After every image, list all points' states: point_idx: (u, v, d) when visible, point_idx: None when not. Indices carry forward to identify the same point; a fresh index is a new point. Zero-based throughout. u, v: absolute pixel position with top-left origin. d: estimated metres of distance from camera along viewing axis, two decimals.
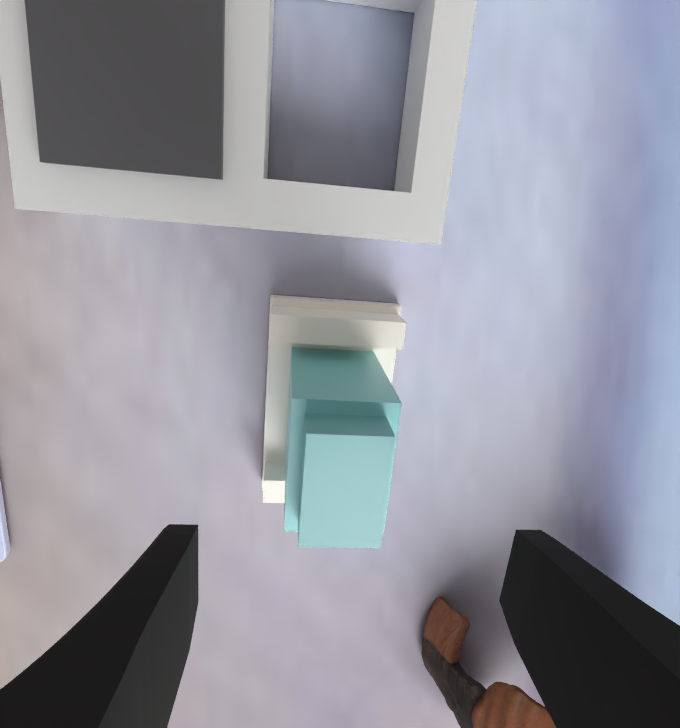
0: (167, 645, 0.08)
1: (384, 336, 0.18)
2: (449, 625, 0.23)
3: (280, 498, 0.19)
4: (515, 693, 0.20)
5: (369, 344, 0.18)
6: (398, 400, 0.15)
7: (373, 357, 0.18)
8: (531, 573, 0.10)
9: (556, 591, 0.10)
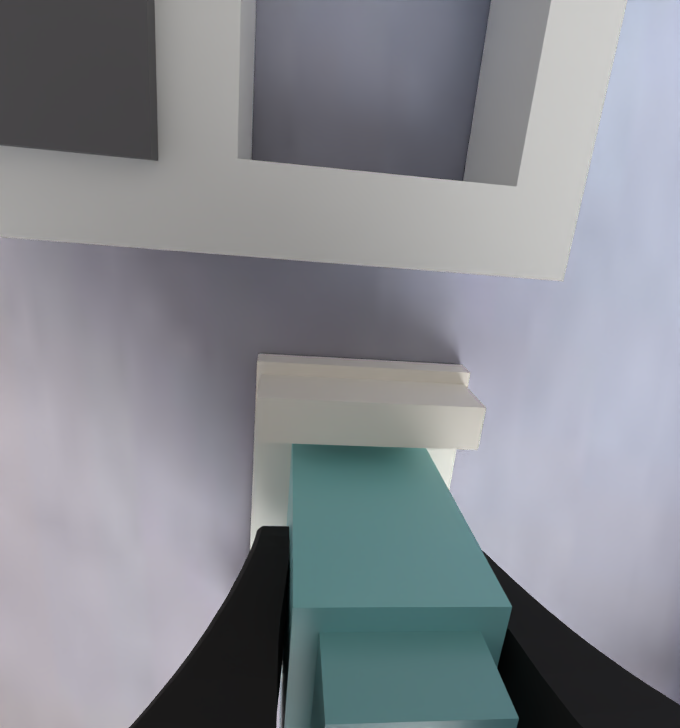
0: (280, 645, 0.09)
1: (448, 429, 0.10)
2: None
3: None
4: None
5: (423, 443, 0.11)
6: (502, 595, 0.07)
7: (425, 457, 0.11)
8: None
9: None
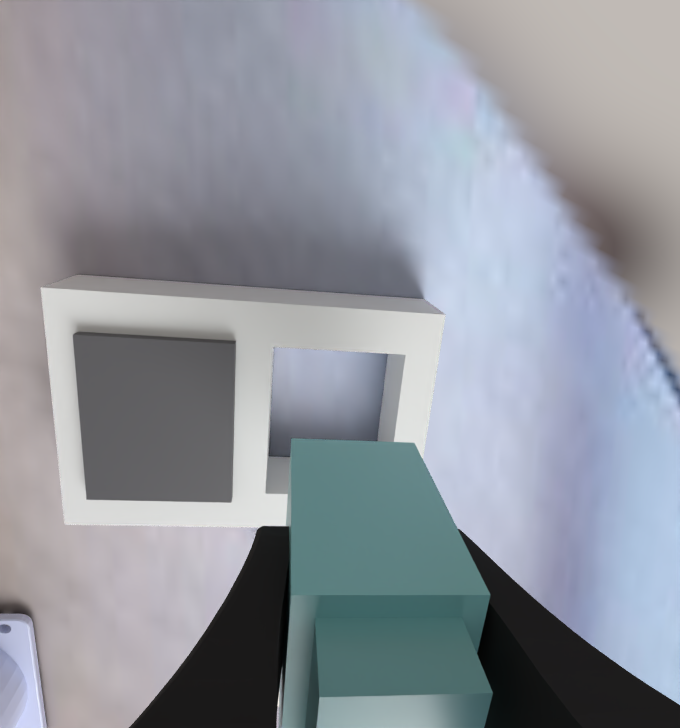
0: (281, 644, 0.09)
1: None
2: None
3: None
4: None
5: None
6: (482, 585, 0.08)
7: (416, 458, 0.12)
8: None
9: None
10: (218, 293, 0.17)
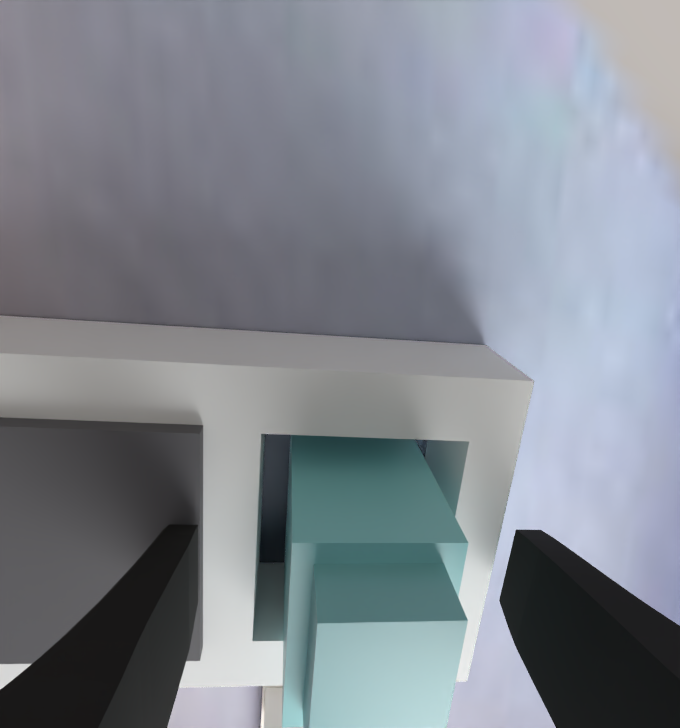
0: (166, 646, 0.08)
1: None
2: None
3: None
4: None
5: None
6: (461, 535, 0.09)
7: None
8: (531, 573, 0.10)
9: (556, 591, 0.10)
10: (176, 347, 0.11)
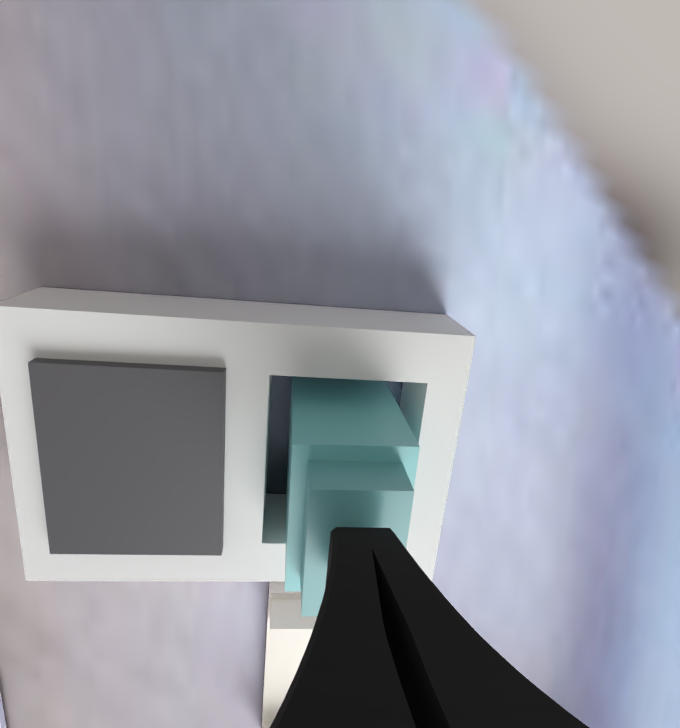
0: None
1: None
2: None
3: None
4: None
5: None
6: (415, 443, 0.13)
7: (383, 384, 0.16)
8: None
9: (378, 591, 0.09)
10: (205, 310, 0.14)
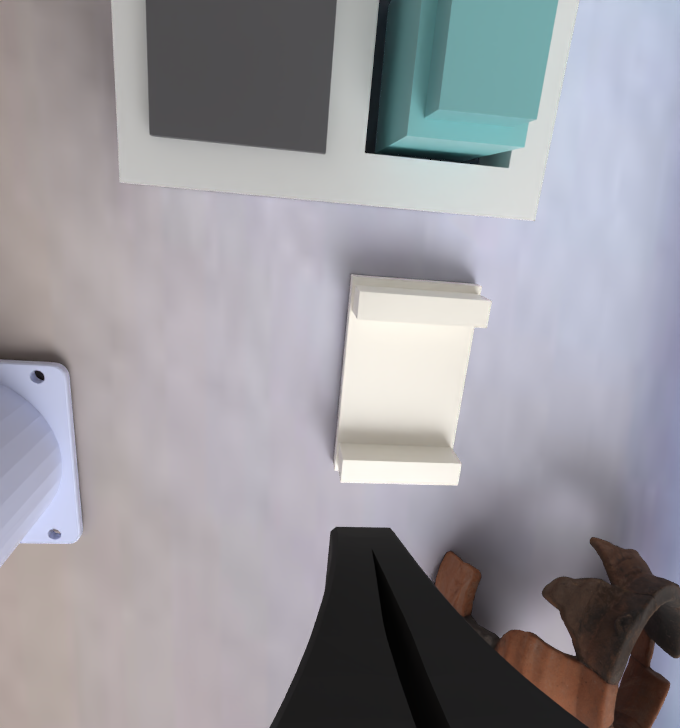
0: None
1: (469, 314, 0.18)
2: (460, 577, 0.22)
3: (358, 478, 0.19)
4: (531, 639, 0.19)
5: (454, 322, 0.18)
6: None
7: None
8: None
9: (378, 591, 0.09)
10: None
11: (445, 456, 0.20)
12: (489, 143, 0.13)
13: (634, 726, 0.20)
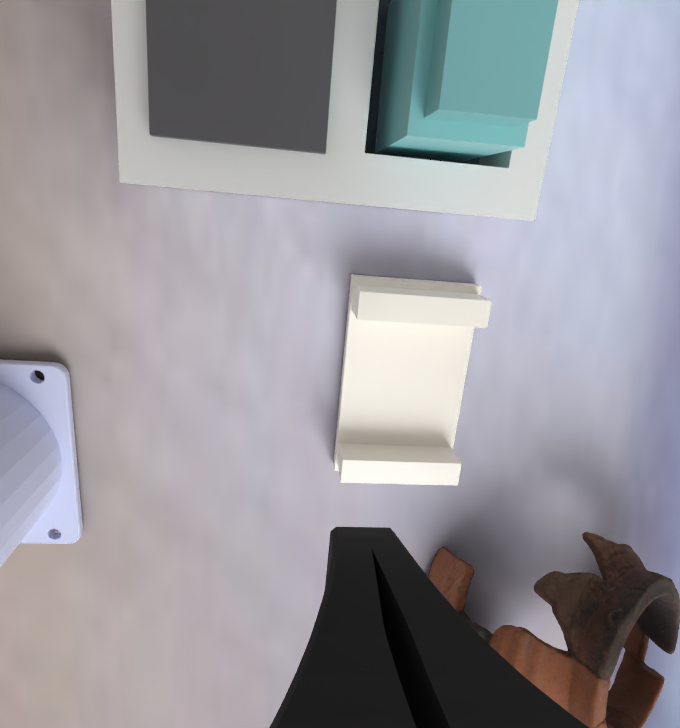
0: None
1: (469, 314, 0.18)
2: (452, 573, 0.22)
3: (358, 478, 0.19)
4: (523, 635, 0.19)
5: (454, 322, 0.18)
6: None
7: None
8: None
9: (378, 591, 0.09)
10: None
11: (445, 456, 0.20)
12: (489, 143, 0.13)
13: (628, 722, 0.20)
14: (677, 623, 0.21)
